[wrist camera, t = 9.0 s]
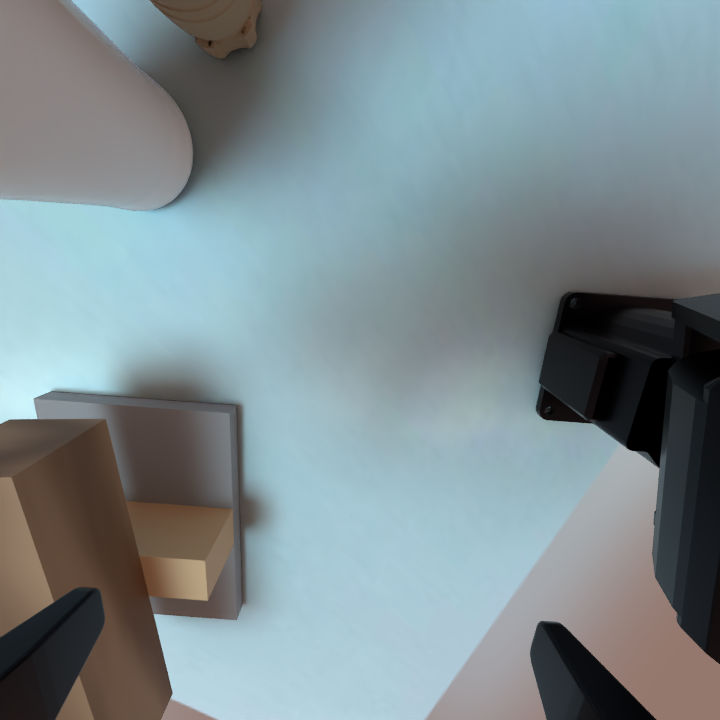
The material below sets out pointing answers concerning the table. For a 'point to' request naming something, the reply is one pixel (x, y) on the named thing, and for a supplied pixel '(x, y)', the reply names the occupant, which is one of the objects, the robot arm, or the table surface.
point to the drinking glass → (83, 115)
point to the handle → (215, 22)
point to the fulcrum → (174, 494)
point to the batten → (79, 560)
